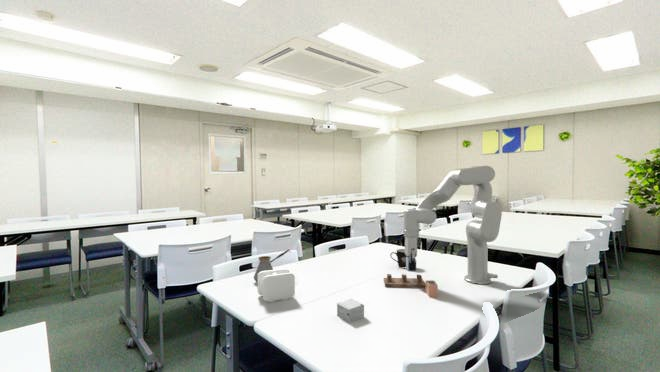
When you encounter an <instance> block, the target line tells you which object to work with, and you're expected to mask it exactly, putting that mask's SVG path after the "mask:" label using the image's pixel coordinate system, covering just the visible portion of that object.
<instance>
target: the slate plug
mask: <svg viewBox="0 0 660 372" xmlns="http://www.w3.org/2000/svg"><path fill="white" fill-rule="evenodd" d="M409 262H410V259H409V257H406V268H405V269H406V270H407V272H411V271H410V270H409ZM412 272H413V273H415V272H416V273H417V269H416V270H415V271H412Z"/></svg>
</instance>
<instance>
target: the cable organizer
mask: <svg viewBox="0 0 660 372" xmlns="http://www.w3.org/2000/svg"><path fill="white" fill-rule="evenodd" d="M295 280H296V277H295V274H294V273H293V272H290V270H289V269H288V268H284V267H283V268H277V269H273V270H267V271H261V272H259V273H258V283H257V294H258V295H259V296H262V298H263V300H264V301H265V302H268V303H271V302H272V301H273V302H277V301H278V300H279V301H280V300H283V301H285V299H286V300H290V299H292V298H293V297H294V296H295V294H296V289H295V288H296V285H295V283H296V281H295Z"/></svg>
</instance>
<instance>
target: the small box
mask: <svg viewBox="0 0 660 372" xmlns="http://www.w3.org/2000/svg"><path fill="white" fill-rule="evenodd" d="M336 307H337V309H336V310H337V311H336V316H338V317H340V319H341V318H342V319H343V320H344V321H346V322H348V323H350V322H354V321H357V320H359V319H362V318H365V305H364V304H363V303H362V302H359V301H358V300H355V299H352V298H350V299H346V300H344V301H340V302H337V303H336Z"/></svg>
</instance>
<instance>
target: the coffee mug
mask: <svg viewBox="0 0 660 372" xmlns="http://www.w3.org/2000/svg"><path fill="white" fill-rule="evenodd" d="M392 254H395V255H396V257H397V260H396V259H395V258H393V257H392ZM389 255H390V258H391V259H392V260H393V261H395V262H396V263H397V267H398V266H399V267H398V268H400V267H406V257H407V256H406V254H405V248H398V249H396V252H394V251H393V252H391V253H390V254H389Z"/></svg>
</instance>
